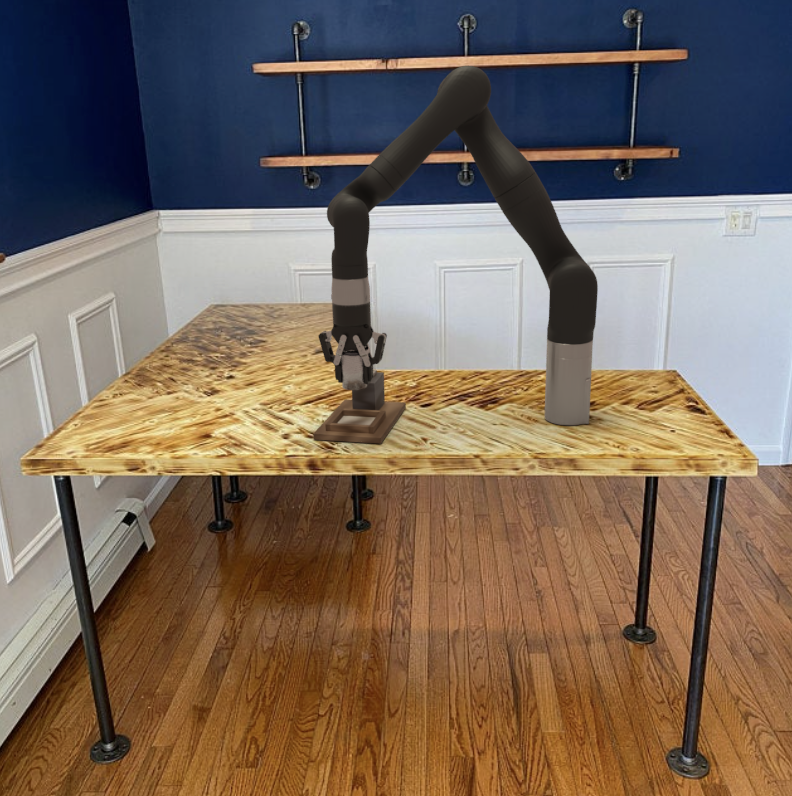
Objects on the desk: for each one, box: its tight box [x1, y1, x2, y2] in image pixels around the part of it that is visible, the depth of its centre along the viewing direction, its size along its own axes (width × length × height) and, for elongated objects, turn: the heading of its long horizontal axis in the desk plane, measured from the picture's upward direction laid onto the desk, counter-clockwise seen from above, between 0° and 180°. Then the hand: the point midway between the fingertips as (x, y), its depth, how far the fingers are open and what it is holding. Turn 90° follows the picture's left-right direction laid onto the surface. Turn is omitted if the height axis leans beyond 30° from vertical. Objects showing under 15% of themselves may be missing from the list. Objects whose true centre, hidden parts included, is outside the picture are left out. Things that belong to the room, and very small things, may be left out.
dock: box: [312, 369, 407, 444], centre depth 173 cm, size 14×22×9 cm, turn 167°
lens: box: [341, 350, 367, 391], centre depth 167 cm, size 5×5×8 cm
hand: (354, 382), depth 168 cm, fingers closed on lens, 5 cm apart
